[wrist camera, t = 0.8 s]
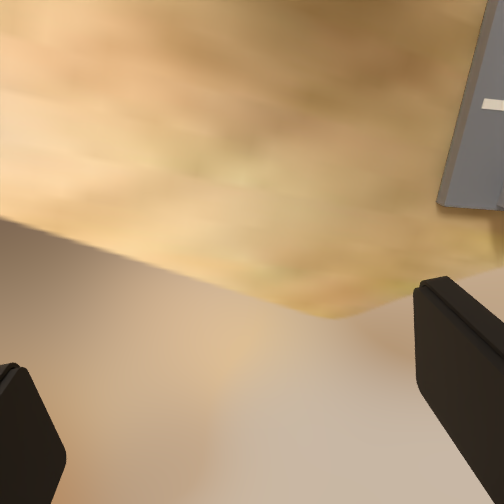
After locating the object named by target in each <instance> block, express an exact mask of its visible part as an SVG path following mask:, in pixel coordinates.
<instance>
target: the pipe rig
mask: <svg viewBox="0 0 504 504" xmlns="http://www.w3.org/2000/svg"><path fill="white" fill-rule="evenodd" d="M436 202H437V203H439V204H440V205H442V206H445V207H459V208H473V209H486V210H500V211H504V0H488V2H487V6H486V10H485V13H484V17H483V21H482V25H481V29H480V33H479V37H478V41H477V45H476V49H475V52H474V56H473V60H472V64H471V68H470V72H469V76H468V80H467V84H466V87H465V91H464V95H463V99H462V103H461V107H460V111H459V115H458V119H457V122H456V126H455V130H454V134H453V138H452V142H451V146H450V150H449V154H448V158H447V161H446V165H445V169H444V173H443V177H442V181H441V185H440V189H439V193H438V196H437V200H436Z"/></svg>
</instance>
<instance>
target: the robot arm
mask: <svg viewBox="0 0 504 504" xmlns="http://www.w3.org/2000/svg"><path fill="white" fill-rule="evenodd" d="M413 303H414V331H415V357H416V358H415V359H416V380H417V384H418V388H419V390H420V392H421V394H422V396H423V397H424V399H425V400H426V401H427V403H428V404H429V406H430V408H431V409H432V411H433V412H434V414H435V415H436V416H437V418H438V419H439V421H440V423H441V424H442V426H443V427H444V429H445V430H446V431H447V433H448V434H449V436H450V437H451V439H452V441H453V442H454V444H455V445H456V447H457V448H458V450H459V451H460V453H461V454H462V456H463V457H464V458H465V460H466V461H467V463H468V465H469V466H470V467H471V469H472V470H473V472H474V473H475V475H476V476H477V478H478V479H479V481H480V482H481V484H482V485H483V487H484V488H485V490H486V491H487V493H488V494H489V496H490V497H491V499H492V500H493V502H494V503H495V504H504V323H503V322H502V321H501V320H500V319H499V318H497V317H496V316H495V315H493V314H492V313H491V312H490V311H489V310H488V309H486V308H485V307H484V306H483V305H482V304H480V303H479V302H478V301H477V300H475V299H474V298H473V297H472V296H471V295H470V294H468V293H467V292H466V291H465V290H464V289H462V288H461V287H460V286H459V285H458V284H456V283H455V282H454V281H453V280H452V279H450V278H449V277H447V276H443V277H438V278H433V279H428V280H423V281H421V283H420V287H419V288H415V289H414V292H413ZM65 464H66V451H65V448H64V446H63V444H62V442H61V440H60V438H59V435H58V433H57V431H56V429H55V427H54V425H53V423H52V421H51V419H50V416H49V414H48V412H47V410H46V408H45V406H44V404H43V402H42V399H41V397H40V396H39V393H38V391H37V389H36V387H35V385H34V382H33V380H32V378H31V376H30V374H29V372H28V370H27V369H26V368H24V367H20V366H19V365H18V364H16V363H9V364H4V365H0V504H51V501H52V499H53V496H54V494H55V491H56V488H57V486H58V483H59V481H60V478H61V475H62V473H63V471H64V468H65Z"/></svg>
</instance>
